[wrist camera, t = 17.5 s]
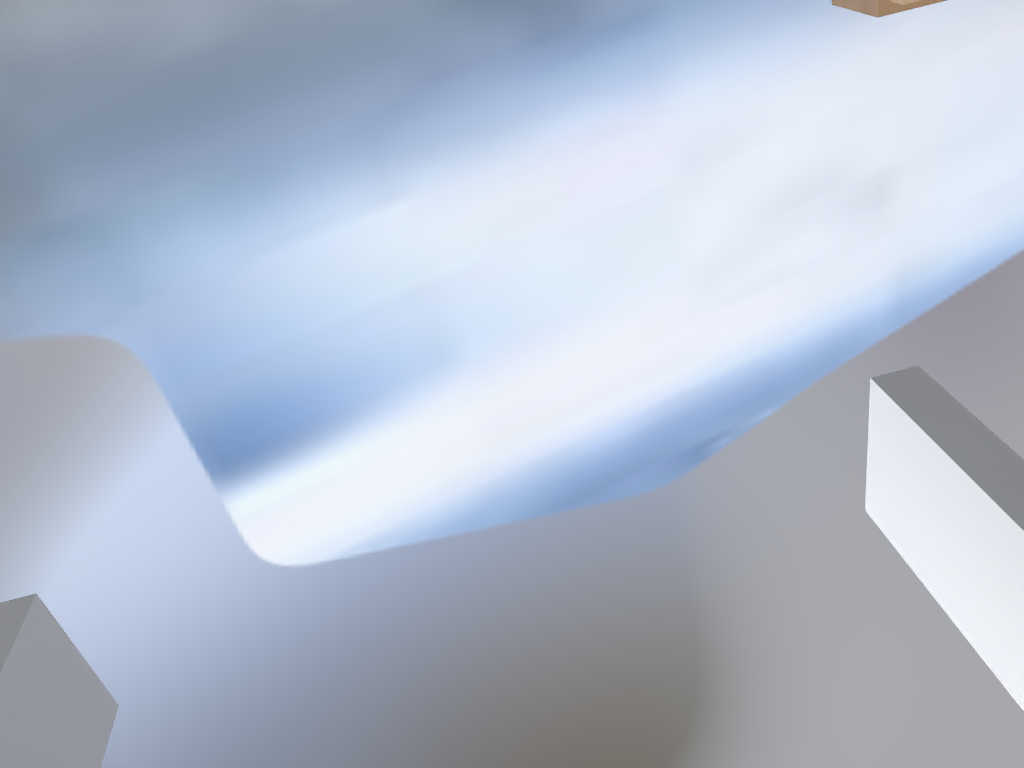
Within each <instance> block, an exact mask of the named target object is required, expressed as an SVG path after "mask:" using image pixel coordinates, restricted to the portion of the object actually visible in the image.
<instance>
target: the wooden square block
mask: <svg viewBox="0 0 1024 768" xmlns="http://www.w3.org/2000/svg"><path fill="white" fill-rule="evenodd" d="M942 1H946V0H832V5H836V6H839V7H843V8H846V9H850V10H853V11H857V12H860V13H864V14H868V15H871V16H875V17H881V16H885V15H890V14H894V13H898V12H902V11H906V10H910V9H914V8H918V7H922V6H926V5H930V4H934V3H938V2H942Z"/></svg>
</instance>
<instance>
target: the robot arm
mask: <svg viewBox="0 0 1024 768" xmlns="http://www.w3.org/2000/svg"><path fill="white" fill-rule="evenodd" d="M870 381H871V382H870V404H869V429H868V454H867V481H866V505H865V510H866V512H867V513H868V514H869V515H870V517H871V518H872V519H873V520H874V522H875V523H876V524H877V525H878V527H879V528H880V529H881V531H882V532H883V533H884V534H885V536H886V537H887V538H888V540H889V541H890V542H891V543H892V545H893V546H894V547H895V548H896V550H897V551H898V552H899V554H900V555H901V556H902V557H903V559H904V560H905V561H906V562H907V564H908V565H909V566H910V567H911V569H912V570H913V571H914V572H915V574H916V575H917V576H918V578H919V579H920V580H921V581H922V583H923V584H924V585H925V587H926V588H927V589H928V590H929V592H930V593H931V594H932V595H933V597H934V598H935V599H936V600H937V602H938V603H939V604H940V606H941V607H942V608H943V609H944V611H945V612H946V613H947V614H948V616H949V617H950V618H951V620H952V621H953V622H954V623H955V625H956V626H957V627H958V628H959V630H960V631H961V632H962V633H963V635H964V636H965V637H966V639H967V640H968V641H969V642H970V644H971V645H972V646H973V647H974V649H975V650H976V651H977V653H978V654H979V655H980V656H981V658H982V659H983V660H984V661H985V663H986V664H987V665H988V666H989V668H990V669H991V670H992V672H993V673H994V674H995V675H996V677H997V678H998V679H999V680H1000V682H1001V683H1002V684H1003V685H1004V687H1005V688H1006V689H1007V691H1008V692H1009V693H1010V694H1011V696H1012V697H1013V698H1014V699H1015V701H1016V702H1017V703H1018V705H1019V706H1020V707H1021V708H1022V710H1023V711H1024V460H1023V459H1022V458H1021V457H1020V456H1019V455H1018V454H1017V453H1016V452H1014V451H1013V450H1012V449H1011V448H1010V447H1009V446H1008V445H1007V444H1005V443H1004V442H1003V441H1002V440H1001V439H1000V438H999V437H997V436H996V435H995V434H994V433H993V432H992V431H991V430H990V429H988V428H987V427H986V426H985V425H984V424H983V423H982V422H980V420H978V419H977V418H976V417H975V416H974V415H973V414H972V413H971V412H969V411H968V410H967V409H966V408H965V407H964V406H963V405H962V404H960V403H959V402H958V401H957V400H956V399H955V398H954V397H953V396H951V395H950V394H949V393H948V392H947V391H946V390H945V389H944V388H942V387H941V386H940V385H939V384H938V383H937V382H936V381H935V380H933V379H932V378H931V377H930V376H929V375H928V374H927V373H926V372H924V371H923V370H922V369H921V368H920V367H919V366H915V367H912V368H908V369H904V370H900V371H896V372H892V373H888V374H885V375H881V376H877V377H873V378H870ZM118 706H119V705H118V704H117V702H116V701H115V700H114V699H113V697H112V696H111V694H110V693H109V691H108V690H107V689H106V687H105V686H104V685H103V683H102V682H101V681H100V679H99V678H98V677H97V675H96V674H95V672H94V671H93V670H92V668H91V667H90V666H89V664H88V663H87V662H86V660H85V659H84V657H83V656H82V655H81V653H80V652H79V651H78V649H77V648H76V647H75V645H74V644H73V643H72V641H71V640H70V638H69V637H68V636H67V634H66V633H65V632H64V630H63V629H62V628H61V626H60V625H59V623H58V622H57V621H56V619H55V618H54V617H53V615H52V614H51V613H50V611H49V610H48V609H47V607H46V606H45V605H44V603H43V602H42V600H41V599H40V598H39V596H38V595H37V594H32V595H29V596H25V597H21V598H17V599H13V600H9V601H6V602H1V603H0V768H101V764H102V761H103V757H104V754H105V751H106V747H107V744H108V740H109V737H110V733H111V730H112V727H113V722H114V720H115V716H116V713H117V710H118Z"/></svg>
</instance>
